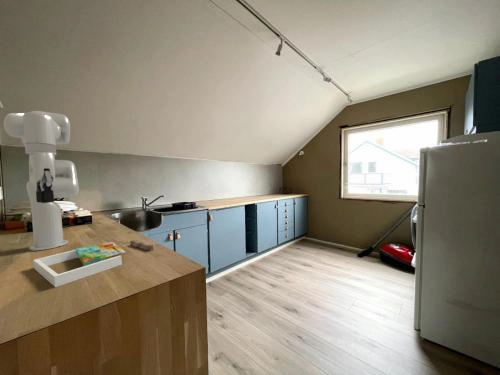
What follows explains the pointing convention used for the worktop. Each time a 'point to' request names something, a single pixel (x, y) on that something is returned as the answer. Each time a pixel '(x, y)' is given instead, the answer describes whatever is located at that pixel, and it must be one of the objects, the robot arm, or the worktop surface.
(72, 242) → the worktop surface
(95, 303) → the worktop surface
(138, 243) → the rail
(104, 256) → the puzzle game
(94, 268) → the frame
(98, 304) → the worktop surface
